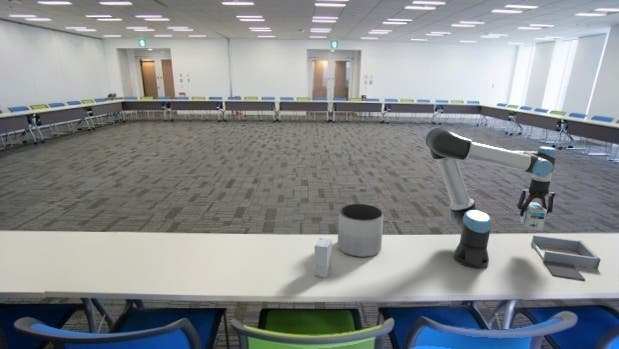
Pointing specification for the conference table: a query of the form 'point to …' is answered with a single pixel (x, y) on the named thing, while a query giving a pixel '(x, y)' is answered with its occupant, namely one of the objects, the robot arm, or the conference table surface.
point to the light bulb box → (534, 216)
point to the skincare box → (323, 257)
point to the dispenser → (585, 260)
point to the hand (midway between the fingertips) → (530, 223)
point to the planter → (360, 230)
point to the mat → (563, 270)
